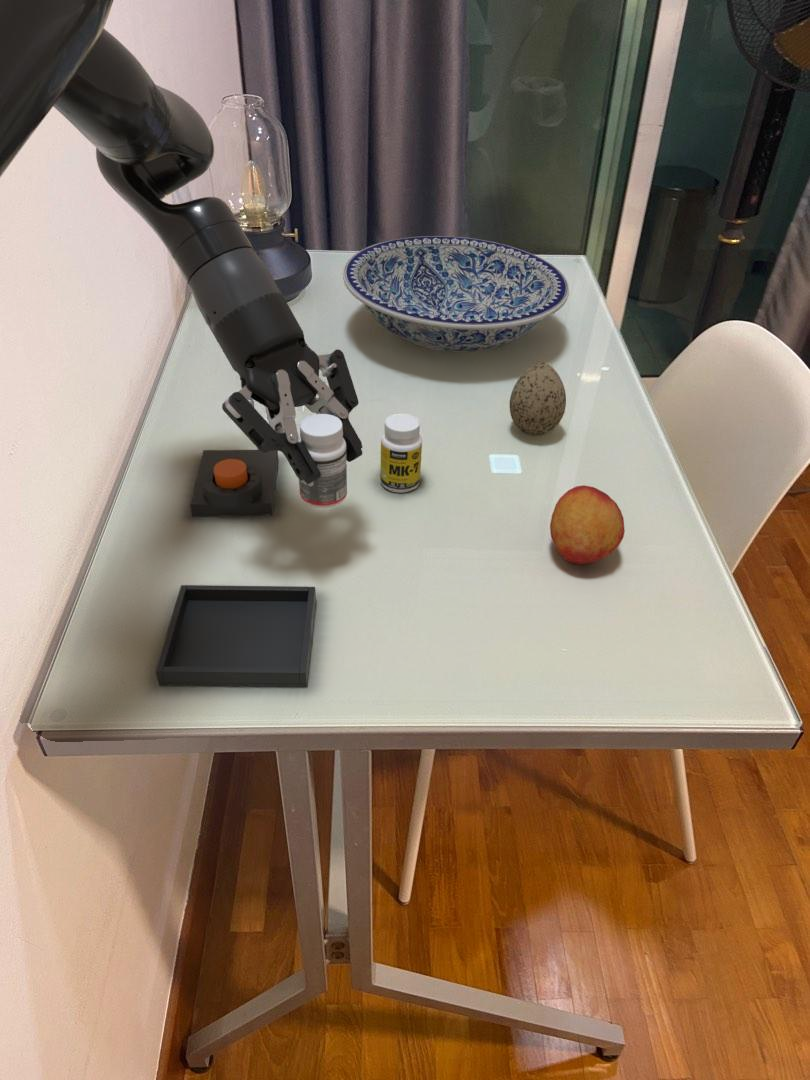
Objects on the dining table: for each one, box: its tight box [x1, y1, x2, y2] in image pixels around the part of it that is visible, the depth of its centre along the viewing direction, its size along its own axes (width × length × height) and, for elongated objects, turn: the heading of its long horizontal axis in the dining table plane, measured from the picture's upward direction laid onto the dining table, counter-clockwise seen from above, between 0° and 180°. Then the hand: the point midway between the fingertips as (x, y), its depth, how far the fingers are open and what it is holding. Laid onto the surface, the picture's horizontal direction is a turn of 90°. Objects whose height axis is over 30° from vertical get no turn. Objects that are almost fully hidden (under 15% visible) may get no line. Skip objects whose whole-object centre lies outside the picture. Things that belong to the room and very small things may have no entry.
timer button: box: [214, 459, 248, 489], centre depth 91 cm, size 4×4×2 cm
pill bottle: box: [298, 413, 348, 509], centre depth 79 cm, size 5×5×8 cm
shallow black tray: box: [155, 584, 317, 688], centre depth 77 cm, size 13×11×2 cm
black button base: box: [189, 449, 279, 517], centre depth 95 cm, size 12×9×4 cm
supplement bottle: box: [379, 412, 423, 494], centre depth 95 cm, size 5×5×8 cm
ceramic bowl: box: [342, 235, 570, 353], centre depth 126 cm, size 34×34×10 cm
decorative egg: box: [509, 361, 567, 437], centre depth 104 cm, size 7×7×10 cm
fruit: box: [549, 484, 626, 565], centre depth 86 cm, size 8×8×8 cm
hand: (335, 468), depth 78 cm, fingers closed on pill bottle, 4 cm apart
